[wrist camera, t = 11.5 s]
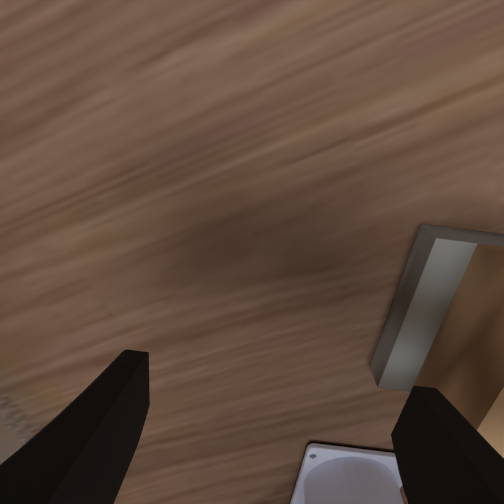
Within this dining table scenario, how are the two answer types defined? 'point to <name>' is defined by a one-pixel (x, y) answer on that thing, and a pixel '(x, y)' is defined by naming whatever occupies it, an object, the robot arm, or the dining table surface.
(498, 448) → the scraper
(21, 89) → the dining table surface
